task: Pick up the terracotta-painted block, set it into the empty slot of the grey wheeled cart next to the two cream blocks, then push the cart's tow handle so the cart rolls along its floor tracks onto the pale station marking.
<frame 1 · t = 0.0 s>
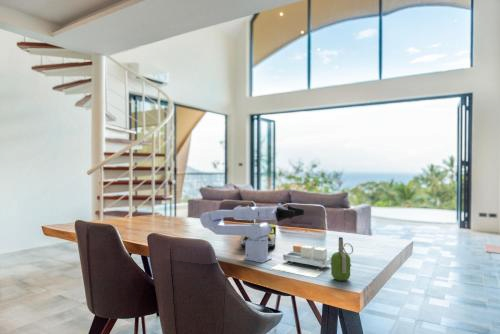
hand: (299, 212, 129), 22 cm above the table, tool horizontal, fingers open, 7 cm apart
part c: (320, 261, 129), point 2 cm above the table, touching cart
grenade: (341, 280, 114), on the table
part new: (299, 256, 146), on the table
racing car: (259, 243, 173), on the table
track: (301, 267, 129), on the table
part b: (307, 259, 133), point 2 cm above the table, touching cart
cart: (310, 258, 135), point 2 cm above the table, slide at 0.0 cm, touching part b, part c
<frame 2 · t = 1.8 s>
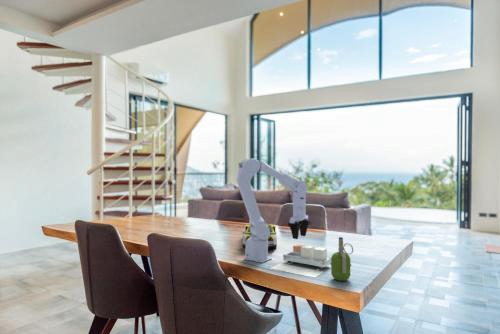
hand: (299, 237, 146), 9 cm above the table, tool pointing down, fingers open, 7 cm apart
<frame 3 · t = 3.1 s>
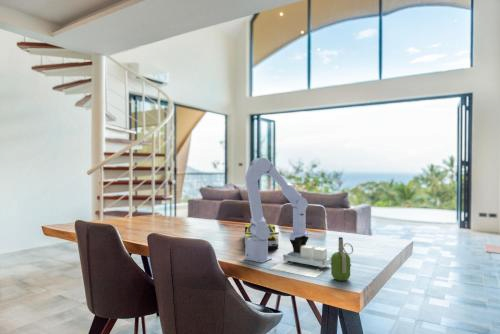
hand: (299, 253, 146), 1 cm above the table, tool pointing down, fingers closed on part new, 4 cm apart
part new: (299, 256, 146), on the table, touching gripper
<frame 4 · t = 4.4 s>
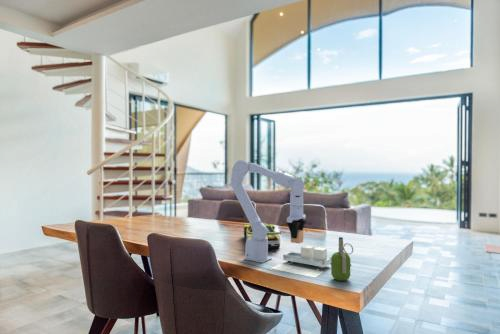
hand: (296, 237, 140), 10 cm above the table, tool pointing down, fingers closed on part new, 4 cm apart
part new: (296, 242, 140), point 8 cm above the table, touching gripper
when the fingers open (5 cm above the table, at t = 6.0 s): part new stays where it is, resting on cart.
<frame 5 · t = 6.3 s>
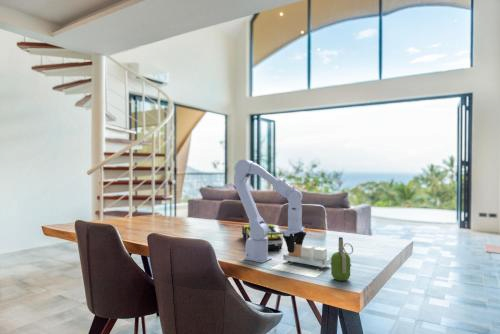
hand: (294, 250, 136), 5 cm above the table, tool pointing down, fingers open, 6 cm apart
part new: (295, 256, 136), point 2 cm above the table, touching cart
cart: (310, 258, 135), point 2 cm above the table, slide at 0.0 cm, touching part b, part c, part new
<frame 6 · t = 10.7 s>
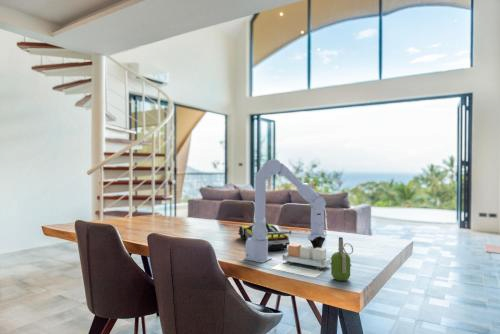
hand: (317, 254, 141), 2 cm above the table, tool pointing down, fingers closed
cart: (309, 258, 135), point 2 cm above the table, slide at 0.6 cm, touching gripper, part b, part c, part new
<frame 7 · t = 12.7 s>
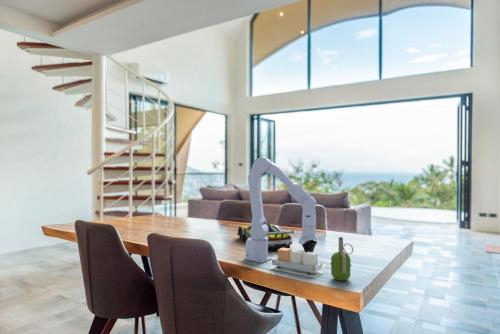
hand: (308, 258, 134), 2 cm above the table, tool pointing down, fingers closed
part c: (310, 266, 122), point 2 cm above the table, touching cart
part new: (284, 261, 128), point 2 cm above the table, touching cart
part b: (297, 264, 125), point 2 cm above the table, touching cart
cart: (300, 263, 128), point 2 cm above the table, slide at 9.0 cm, touching gripper, part b, part c, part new
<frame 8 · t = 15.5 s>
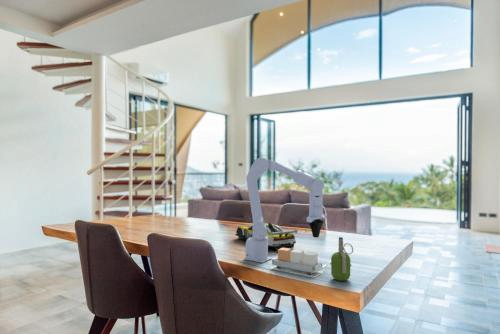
hand: (315, 237, 140), 10 cm above the table, tool pointing down, fingers closed
cart: (300, 263, 128), point 2 cm above the table, slide at 9.0 cm, touching part b, part c, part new
at the end: cart slide at 9.0 cm; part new 0.3 cm from the target spot on the cart, point 2.4 cm above the cart's base; part c 0.2 cm from the target spot on the cart, point 2.4 cm above the cart's base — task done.
